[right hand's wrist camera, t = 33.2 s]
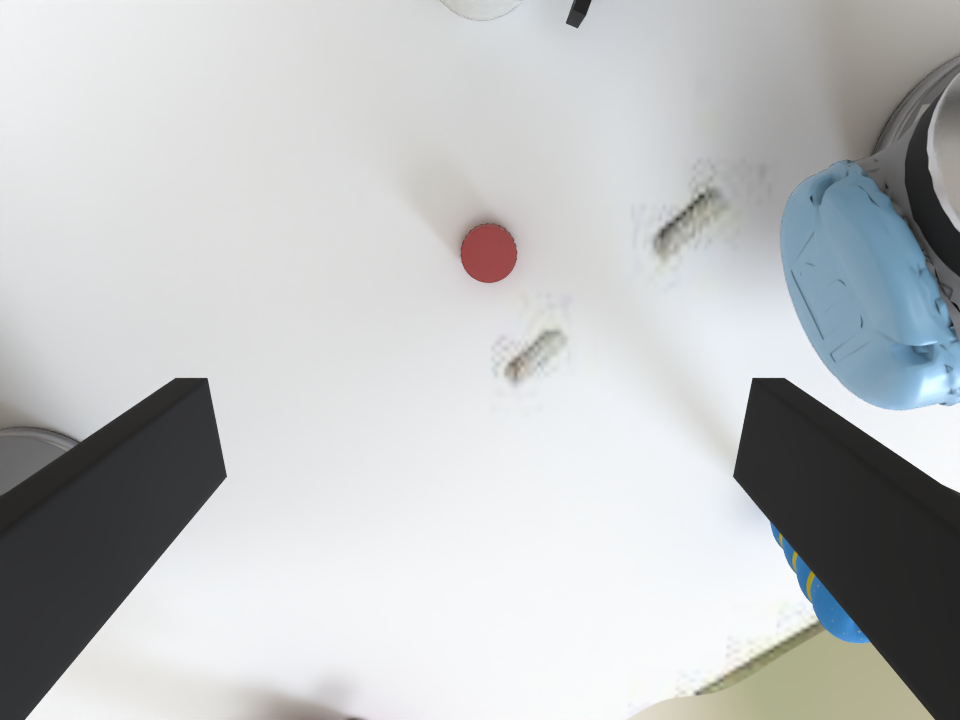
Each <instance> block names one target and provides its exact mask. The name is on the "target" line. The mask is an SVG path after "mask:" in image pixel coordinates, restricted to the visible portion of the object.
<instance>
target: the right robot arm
mask: <svg viewBox="0 0 960 720" xmlns="http://www.w3.org/2000/svg"><path fill="white" fill-rule="evenodd" d="M226 477H227V475H226V470H225V465H224V460H223V455H222V450H221V444H220V439H219V434H218V429H217V424H216V419H215V414H214V409H213V404H212V399H211V394H210V389H209V384H208V378H175V379H173V380H172V381H170V382H169V383H168V384H166V385H165V386H163V387H162V388H160V389H159V390H157V391H156V392H154V393H153V394H151V395H150V396H148V397H147V398H145V399H144V400H142V401H141V402H139V403H138V404H136V405H135V406H134V407H132V408H131V409H129V410H128V411H126V412H125V413H123V414H122V415H120V416H119V417H117V418H116V419H114V420H113V421H111V422H110V423H108V424H107V425H105V426H104V427H103V428H101V429H100V430H98V431H97V432H95V433H94V434H92V435H91V436H89V437H88V438H86V439H85V440H83V441H82V442H80V443H78V442H76V441H74V440H72V439H70V438H68V437H65V436H63V435H60V434H58V433H54V432H51V431H47V430H42V429H36V428H25V427H21V428H9V429H4V430H0V720H25V719H26V718H27V716H28V715H29V714H30V713H31V712H32V710H33V709H34V708H35V707H36V706H37V704H38V703H39V702H40V701H41V700H42V698H43V697H44V696H45V695H46V694H47V692H48V691H49V690H50V689H51V688H52V686H53V685H54V684H55V683H56V682H57V680H58V679H59V678H60V677H61V676H62V674H63V673H64V672H65V671H66V670H67V668H68V667H69V666H70V665H71V663H72V662H73V661H74V660H75V659H76V657H77V656H78V655H79V654H80V653H81V651H82V650H83V649H84V648H85V647H86V645H87V644H88V643H89V642H90V641H91V639H92V638H93V637H94V636H95V635H96V633H97V632H98V631H99V630H100V629H101V627H102V626H103V625H104V624H105V623H106V621H107V620H108V619H109V618H110V617H111V615H112V614H113V613H114V612H115V611H116V609H117V608H118V607H119V606H120V605H121V603H122V602H123V601H124V600H125V599H126V597H127V596H128V595H129V594H130V593H131V591H132V590H133V589H134V588H135V587H136V585H137V584H138V583H139V582H140V580H141V579H142V578H143V577H144V576H145V574H146V573H147V572H148V571H149V570H150V568H151V567H152V566H153V565H154V564H155V562H156V561H157V560H158V559H159V558H160V556H161V555H162V554H163V553H164V552H165V550H166V549H167V548H168V547H169V546H170V544H171V543H172V542H173V541H174V540H175V538H176V537H177V536H178V535H179V534H180V532H181V531H182V530H183V529H184V528H185V526H186V525H187V524H188V523H189V522H190V520H191V519H192V518H193V517H194V516H195V514H196V513H197V512H198V511H199V510H200V508H201V507H202V506H203V505H204V503H205V502H206V501H207V500H208V499H209V497H210V496H211V495H212V494H213V493H214V491H215V490H216V489H217V488H218V487H219V485H220V484H221V483H222V482H223V481H224V479H225V478H226ZM733 477H734V478H735V479H736V481H737V482H738V483H739V484H740V485H741V487H742V488H743V489H744V490H745V491H746V493H747V494H748V495H749V496H750V497H751V499H752V500H753V501H754V502H755V504H756V505H757V506H758V507H759V508H760V510H761V511H762V512H763V513H764V514H765V516H766V517H767V518H768V519H769V520H770V522H771V523H772V524H773V525H774V526H775V528H776V529H777V530H778V531H779V532H780V534H781V535H782V536H783V537H784V538H785V540H786V541H787V542H788V543H789V544H790V546H791V547H792V548H793V549H794V550H795V552H796V553H797V554H798V555H799V556H800V558H801V559H802V560H803V561H804V562H805V564H806V565H807V566H808V567H809V568H810V570H811V571H812V572H813V573H814V574H815V576H816V577H817V578H818V579H819V580H820V582H821V583H822V584H823V585H824V587H825V588H826V589H827V590H828V591H829V593H830V594H831V595H832V596H833V597H834V599H835V600H836V601H837V602H838V603H839V605H840V606H841V607H842V608H843V609H844V611H845V612H846V613H847V614H848V615H849V617H850V618H851V619H852V620H853V621H854V623H855V624H856V625H857V626H858V627H859V629H860V630H861V631H862V632H863V633H864V635H865V636H866V637H867V638H868V639H869V641H870V642H871V643H872V644H873V645H874V647H875V648H876V649H877V650H878V651H879V653H880V654H881V655H882V656H883V657H884V659H885V660H886V661H887V662H888V663H889V665H890V666H891V667H892V668H893V670H894V671H895V672H896V673H897V674H898V675H899V677H900V678H901V679H902V680H903V682H904V683H905V684H906V685H907V686H908V688H909V689H910V690H911V691H912V692H913V694H914V695H915V696H916V697H917V698H918V700H919V701H920V702H921V703H922V704H923V706H924V707H925V708H926V709H927V710H928V712H929V713H930V714H931V715H932V716H933V718H934V719H935V720H960V493H959V492H957V491H955V490H952V489H950V488H948V487H946V486H944V485H942V484H940V483H939V482H937V481H936V480H934V479H933V478H931V477H930V476H928V475H927V474H925V473H924V472H923V471H921V470H920V469H918V468H917V467H915V466H914V465H912V464H911V463H909V462H908V461H906V460H905V459H903V458H902V457H900V456H899V455H897V454H896V453H894V452H893V451H891V450H890V449H889V448H887V447H886V446H884V445H883V444H881V443H880V442H878V441H877V440H875V439H874V438H872V437H871V436H869V435H868V434H866V433H865V432H863V431H862V430H860V429H859V428H857V427H856V426H855V425H853V424H852V423H850V422H849V421H847V420H846V419H844V418H843V417H841V416H840V415H838V414H837V413H835V412H834V411H832V410H831V409H829V408H828V407H826V406H825V405H823V404H822V403H821V402H819V401H818V400H816V399H815V398H813V397H812V396H810V395H809V394H807V393H806V392H804V391H803V390H801V389H800V388H798V387H797V386H795V385H794V384H792V383H791V382H790V381H788V380H787V379H785V378H752V384H751V389H750V394H749V399H748V404H747V409H746V414H745V419H744V424H743V429H742V434H741V439H740V444H739V450H738V455H737V460H736V465H735V470H734V475H733Z"/></svg>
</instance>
